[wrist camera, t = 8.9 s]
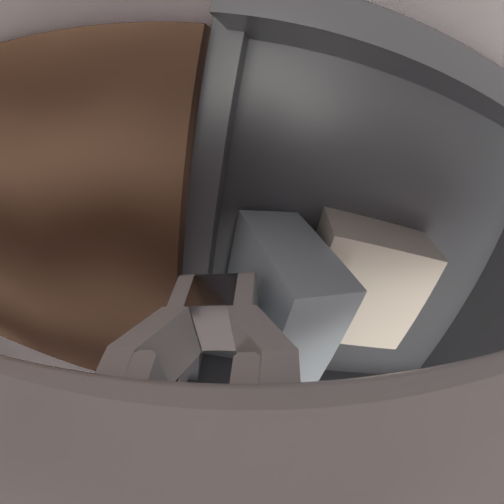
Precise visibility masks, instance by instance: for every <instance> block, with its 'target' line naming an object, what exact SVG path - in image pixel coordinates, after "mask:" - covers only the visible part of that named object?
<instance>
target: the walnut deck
mask: <svg viewBox="0 0 504 504" xmlns="http://www.w3.org/2000/svg"><path fill="white" fill-rule="evenodd" d="M210 31H211V28H210V27H209V26H207V25H206V24H205V23H188V22H129V23H113V24H101V25H91V26H82V27H75V28H68V29H61V30H55V31H50V32H44V33H39V34H34V35H30V36H25V37H21V38H17V39H13V40H9V41H5V42H2V43H0V335H1V336H3V337H5V338H8V339H10V340H12V341H15V342H17V343H19V344H22V345H24V346H27V347H29V348H32V349H34V350H37V351H39V352H42V353H44V354H47V355H50V356H52V357H55V358H58V359H61V360H63V361H66V362H69V363H72V364H75V365H78V366H81V367H84V368H87V369H90V370H94V371H96V369H97V367H98V365H99V363H100V360H101V358H102V356H103V354H104V352H105V350H106V348H107V346H108V345H110V344H111V343H112V342H114V341H115V340H117V339H118V338H119V337H121V336H122V335H123V334H125V333H126V332H128V331H129V330H130V329H132V328H133V327H135V326H136V325H137V324H139V323H140V322H142V321H143V320H144V319H146V318H147V317H149V316H150V315H151V314H153V313H154V312H155V311H157V310H158V309H160V308H161V307H166V306H167V304H168V301H169V299H170V296H171V294H172V291H173V289H174V286H175V284H176V281H177V279H178V277H179V276H180V275H182V271H183V254H184V239H185V226H186V213H187V202H188V191H189V181H190V171H191V162H192V153H193V144H194V136H195V128H196V120H197V113H198V106H199V99H200V92H201V85H202V78H203V72H204V66H205V60H206V54H207V48H208V42H209V37H210ZM178 381H179V378H178V379H177V380H176V381H175V382H178Z"/></svg>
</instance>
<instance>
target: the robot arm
mask: <svg viewBox="0 0 504 504" xmlns="http://www.w3.org/2000/svg"><path fill="white" fill-rule="evenodd" d="M215 350H221V351H236V353H237V354H236V355H234V356H233V362H232V369H231V376H230V383H229V384H223V383H191V382H175V381H176V380H177V379H178V378H179V376H180V375H181V374H182V373H183V372H184V371H185V370H186V369H187V368H188V367H189V365H190V364H191V363H192V362H193V361H194V360H195V359H196V358H197V357H198V356H199V354H200V353H201V351H215ZM0 504H504V350H502V351H498V352H495V353H491V354H487V355H483V356H479V357H475V358H471V359H466V360H462V361H457V362H452V363H448V364H443V365H438V366H432V367H427V368H421V369H415V370H409V371H403V372H396V373H390V374H382V375H375V376H366V377H358V378H348V379H338V380H327V381H313V382H301V380H300V363H299V349H298V348H297V347H296V346H295V345H294V344H293V343H292V342H291V341H290V340H289V339H288V338H287V337H286V336H285V335H284V333H283V332H282V331H281V330H280V329H279V328H278V327H277V326H276V325H275V324H274V323H273V322H272V321H271V320H270V319H269V317H268V316H267V315H266V314H265V313H264V312H263V311H262V310H261V309H260V308H259V299H258V289H257V279H256V273H255V272H241V273H230V274H196V275H195V274H187V275H180V276H179V277H178V279H177V281H176V284H175V286H174V289H173V291H172V294H171V296H170V299H169V301H168V304H167V306H166V307H161V308H160V309H158V310H157V311H155V312H154V313H153V314H151V315H150V316H149V317H147V318H146V319H144V320H143V321H142V322H140V323H139V324H137V325H136V326H135V327H133V328H132V329H130V330H129V331H128V332H126V333H125V334H123V335H122V336H121V337H119V338H118V339H117V340H115V341H114V342H112V343H111V344H110V345H108V346H107V348H106V350H105V352H104V354H103V356H102V358H101V360H100V363H99V365H98V367H97V369H96V371H95V373H88V372H81V371H75V370H69V369H63V368H58V367H53V366H47V365H42V364H38V363H33V362H28V361H24V360H19V359H15V358H11V357H7V356H3V355H0Z"/></svg>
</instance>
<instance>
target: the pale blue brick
mask: <svg viewBox="0 0 504 504" xmlns="http://www.w3.org/2000/svg"><path fill="white" fill-rule="evenodd" d="M241 272H255V273H256V279H257V289H258V299H259V308H260V309H261V310H262V311H263V312H264V313H265V314H266V315H267V316H268V317H269V319H270V320H271V321H272V322H273V323H274V324H275V325H276V326H277V327H278V328H279V329H280V330H281V331H282V332H283V333H284V335H285V336H286V337H287V338H288V339H289V340H290V341H291V342H292V343H293V344H294V345H295V346H296V347H297V348H298V349H299V363H300V380H301V382H313V381H319V379H320V378H321V376H322V374H323V373H324V371H325V369H326V367H327V366H328V364H329V362H330V361H331V359H332V357H333V355H334V353H335V352H336V350H337V348H338V346H339V345H340V343H341V341H342V339H343V337H344V335H345V334H346V332H347V330H348V328H349V326H350V324H351V322H352V320H353V318H354V317H355V315H356V313H357V311H358V309H359V307H360V305H361V303H362V301H363V299H364V297H365V295H366V293H367V290H366V289H365V288H364V287H363V285H362V284H361V283H360V282H359V281H358V280H357V278H356V277H355V276H354V275H353V274H352V273H351V271H350V270H349V269H348V268H347V267H346V266H345V265H344V263H343V262H342V261H341V260H340V259H339V258H338V257H337V255H336V254H335V253H334V252H333V251H332V250H331V249H330V247H329V246H328V245H327V244H326V243H325V242H324V241H323V240H322V238H321V237H320V236H319V235H318V234H317V233H316V232H315V231H314V230H313V229H312V227H311V226H310V225H309V224H308V223H307V222H306V221H305V220H304V219H303V218H302V216H301V215H300V214H299V213H298V212H281V211H254V210H239V214H238V219H237V224H236V229H235V235H234V240H233V245H232V250H231V256H230V261H229V266H228V272H227V274H230V273H241Z"/></svg>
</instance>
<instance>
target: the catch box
mask: <svg viewBox="0 0 504 504" xmlns="http://www.w3.org/2000/svg"><path fill="white" fill-rule="evenodd" d="M209 12H210V13H211V14H212V15H213V21H212V26H211V31H210V37H209V42H208V48H207V54H206V60H205V66H204V72H203V78H202V85H201V92H200V99H199V106H198V113H197V120H196V128H195V136H194V144H193V153H192V162H191V171H190V181H189V191H188V202H187V213H186V226H185V239H184V254H183V271H182V275H187V274H195V275H196V274H227V272H228V266H229V261H230V256H231V250H232V245H233V240H234V235H235V229H236V224H237V219H238V214H239V210H254V211H281V212H298V213H299V214H300V215H301V216H302V218H303V219H304V220H305V221H306V222H307V223H308V224H309V225H310V226H311V227H312V229H313V230H314V231H315V232H316V230H317V227H318V224H319V221H320V218H321V215H322V212H323V208H324V206H325V207H329V208H333V209H338V210H342V211H346V212H350V213H354V214H358V215H362V216H366V217H370V218H374V219H378V220H382V221H385V222H389V223H393V224H397V225H400V226H404V227H408V228H411V229H415V230H418V231H422V232H425V233H426V234H427V236H428V237H429V238H430V240H431V241H432V242H433V243H434V245H435V246H436V247H437V249H438V250H439V251H440V253H441V254H442V255H443V257H444V258H445V259H446V261H447V262H448V263H447V265H446V267H445V269H444V271H443V272H442V274H441V276H440V278H439V280H438V282H437V283H436V285H435V287H434V289H433V290H432V292H431V294H430V296H429V297H428V299H427V301H426V302H425V304H424V306H423V307H422V309H421V311H420V312H419V314H418V316H417V317H416V319H415V320H414V322H413V324H412V325H411V327H410V328H409V330H408V331H407V333H406V335H405V336H404V338H403V339H402V341H401V342H400V344H399V345H398V346H397V348H396V349H385V348H375V347H365V346H356V345H347V344H340V345H339V346H338V348H337V350H336V352H335V353H334V355H333V357H332V359H331V361H330V362H329V364H328V366H327V367H326V369H325V371H324V373H323V374H322V376H321V378H320V379H319V381H327V380H338V379H348V378H358V377H366V376H375V375H382V374H390V373H396V372H403V371H409V370H415V369H421V368H427V367H432V366H438V365H443V364H448V363H452V362H457V361H462V360H466V359H471V358H475V357H479V356H483V355H487V354H491V353H495V352H498V351H502V350H504V68H502V67H501V66H499V65H498V64H496V63H495V62H493V61H491V60H490V59H488V58H487V57H485V56H483V55H482V54H480V53H479V52H477V51H475V50H473V49H472V48H470V47H468V46H466V45H465V44H463V43H461V42H459V41H457V40H456V39H454V38H452V37H450V36H448V35H446V34H444V33H442V32H440V31H438V30H436V29H434V28H432V27H430V26H428V25H425V24H423V23H421V22H419V21H417V20H414V19H412V18H410V17H407V16H405V15H402V14H400V13H397V12H395V11H392V10H390V9H387V8H384V7H382V6H379V5H376V4H373V3H370V2H367V1H364V0H212V1H211V6H210V11H209ZM236 354H237V353H236V351H221V350H215V351H201V353H200V354H199V356H198V357H197V358H196V359H195V360H194V361H193V362H192V363H191V364H190V365H189V367H188V368H187V369H186V370H185V371H184V372H183V373H182V374H181V375H180V376H179V382H191V383H223V384H229V383H230V376H231V369H232V362H233V356H234V355H236Z"/></svg>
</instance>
